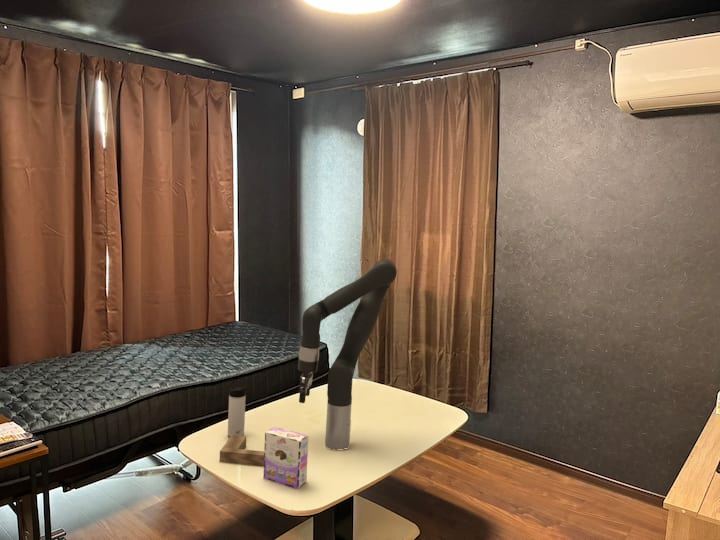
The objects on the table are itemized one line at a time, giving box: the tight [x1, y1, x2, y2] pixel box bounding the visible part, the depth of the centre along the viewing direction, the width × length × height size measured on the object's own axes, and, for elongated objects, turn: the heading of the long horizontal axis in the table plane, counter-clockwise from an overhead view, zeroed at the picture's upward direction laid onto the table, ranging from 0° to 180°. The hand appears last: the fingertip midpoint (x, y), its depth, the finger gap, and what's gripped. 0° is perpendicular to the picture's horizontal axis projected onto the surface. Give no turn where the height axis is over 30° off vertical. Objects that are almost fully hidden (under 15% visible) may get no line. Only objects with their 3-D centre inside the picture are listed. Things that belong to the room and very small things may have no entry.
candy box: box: [263, 426, 310, 490], centre depth 180 cm, size 14×6×16 cm, turn 65°
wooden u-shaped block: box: [218, 435, 264, 467], centre depth 197 cm, size 22×14×4 cm, turn 86°
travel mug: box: [227, 385, 248, 439], centre depth 211 cm, size 6×7×20 cm
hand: (304, 398), depth 209 cm, fingers open, 8 cm apart
